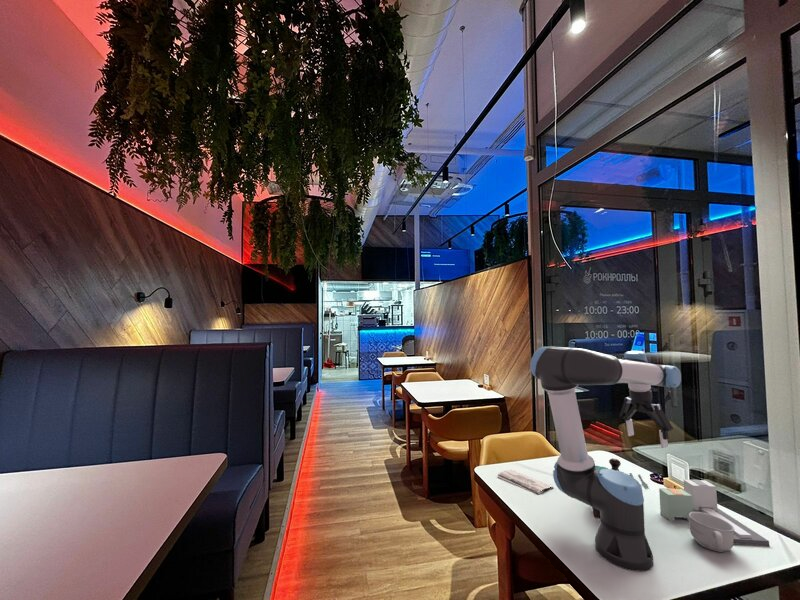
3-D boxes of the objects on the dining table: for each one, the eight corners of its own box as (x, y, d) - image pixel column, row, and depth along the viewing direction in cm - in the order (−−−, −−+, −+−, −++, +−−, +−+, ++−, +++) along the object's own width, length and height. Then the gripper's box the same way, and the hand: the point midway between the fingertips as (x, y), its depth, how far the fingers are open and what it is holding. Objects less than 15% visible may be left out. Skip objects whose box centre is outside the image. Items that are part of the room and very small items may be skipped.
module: (669, 520, 125) (668, 494, 126) (660, 512, 130) (659, 487, 131) (693, 521, 124) (691, 495, 125) (683, 514, 129) (681, 488, 130)
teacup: (690, 531, 118) (688, 507, 119) (733, 544, 111) (732, 518, 112) (690, 552, 107) (689, 525, 108) (739, 567, 100) (737, 539, 101)
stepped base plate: (728, 543, 112) (726, 509, 112) (673, 502, 137) (671, 475, 138) (769, 545, 110) (766, 511, 111) (705, 504, 136) (704, 476, 137)
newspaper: (495, 478, 161) (495, 472, 161) (512, 474, 167) (512, 469, 168) (538, 498, 142) (538, 491, 142) (555, 493, 149) (555, 487, 149)
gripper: (679, 393, 129) (687, 449, 129) (618, 381, 153) (624, 428, 153) (665, 398, 127) (673, 454, 127) (605, 385, 151) (612, 433, 151)
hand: (647, 440), depth 140 cm, fingers open, 13 cm apart
